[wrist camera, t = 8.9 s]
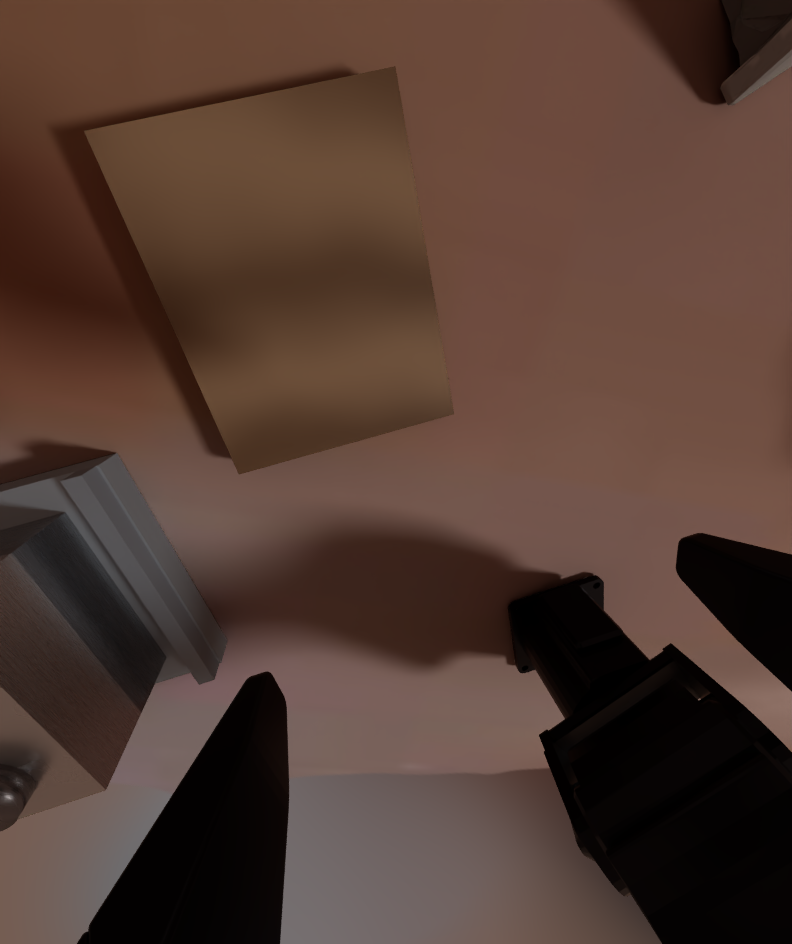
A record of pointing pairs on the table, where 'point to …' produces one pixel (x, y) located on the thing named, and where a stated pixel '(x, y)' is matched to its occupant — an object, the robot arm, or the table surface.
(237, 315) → the stand
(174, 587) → the cabinet frame
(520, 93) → the table surface
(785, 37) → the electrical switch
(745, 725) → the robot arm
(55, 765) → the grey drawer
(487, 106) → the table surface
